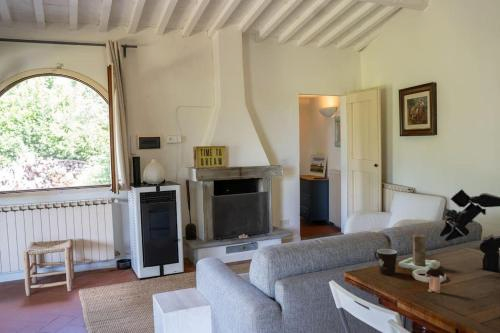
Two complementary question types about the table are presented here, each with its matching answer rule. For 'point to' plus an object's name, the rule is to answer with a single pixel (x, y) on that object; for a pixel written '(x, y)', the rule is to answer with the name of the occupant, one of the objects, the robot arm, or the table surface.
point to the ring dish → (422, 278)
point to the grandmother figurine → (434, 277)
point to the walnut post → (419, 250)
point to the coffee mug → (386, 261)
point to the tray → (409, 265)
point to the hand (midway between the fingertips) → (442, 238)
